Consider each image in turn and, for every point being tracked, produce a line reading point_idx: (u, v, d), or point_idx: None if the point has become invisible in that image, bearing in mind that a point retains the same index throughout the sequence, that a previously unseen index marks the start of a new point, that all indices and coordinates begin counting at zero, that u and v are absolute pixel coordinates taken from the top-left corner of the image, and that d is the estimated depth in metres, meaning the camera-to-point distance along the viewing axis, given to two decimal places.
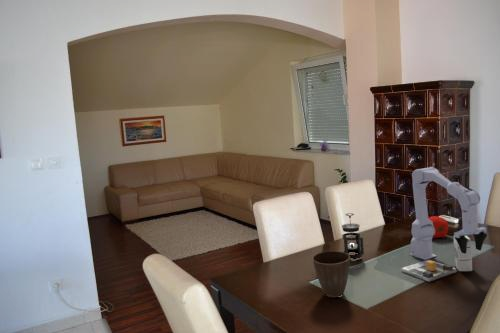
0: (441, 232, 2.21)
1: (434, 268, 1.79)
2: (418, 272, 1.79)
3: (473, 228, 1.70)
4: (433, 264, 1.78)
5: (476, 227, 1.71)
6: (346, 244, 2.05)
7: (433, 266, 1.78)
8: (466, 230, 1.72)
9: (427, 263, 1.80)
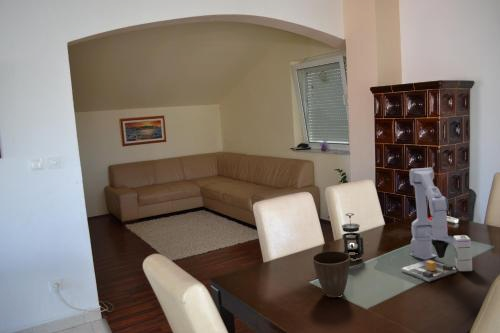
0: None
1: (434, 268, 1.79)
2: (418, 272, 1.79)
3: (433, 233, 1.73)
4: (433, 264, 1.78)
5: (436, 233, 1.71)
6: (346, 244, 2.05)
7: (433, 266, 1.78)
8: None
9: (427, 263, 1.80)
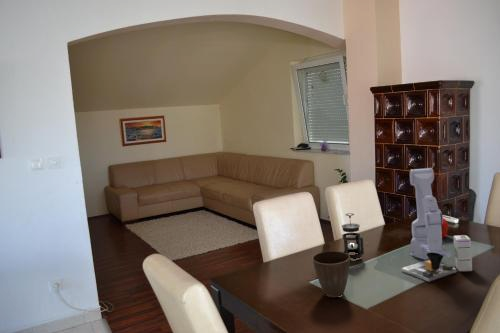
0: None
1: None
2: (418, 272, 1.79)
3: (428, 246, 1.76)
4: None
5: (431, 246, 1.75)
6: (346, 244, 2.05)
7: None
8: None
9: (426, 263, 1.80)
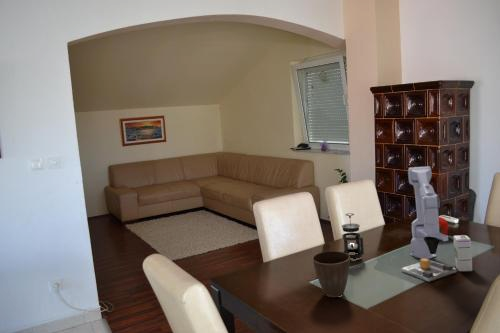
0: (441, 232, 2.21)
1: (428, 266, 1.82)
2: (418, 272, 1.79)
3: (425, 230, 1.76)
4: (427, 262, 1.81)
5: (428, 230, 1.75)
6: (346, 244, 2.05)
7: (427, 264, 1.82)
8: None
9: (421, 261, 1.83)
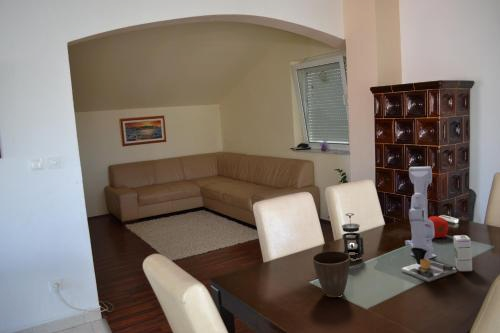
0: (441, 232, 2.21)
1: (428, 266, 1.82)
2: (418, 272, 1.79)
3: (412, 241, 1.84)
4: (427, 262, 1.81)
5: (415, 241, 1.83)
6: (346, 244, 2.05)
7: (427, 264, 1.81)
8: None
9: (421, 261, 1.83)
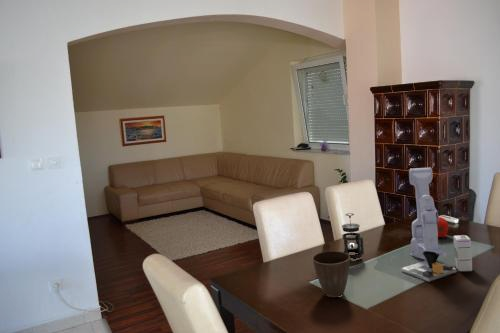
0: (441, 232, 2.21)
1: (441, 270, 1.76)
2: (418, 272, 1.79)
3: (424, 244, 1.78)
4: (440, 266, 1.75)
5: (427, 245, 1.77)
6: (346, 244, 2.05)
7: (440, 269, 1.75)
8: None
9: (433, 265, 1.77)
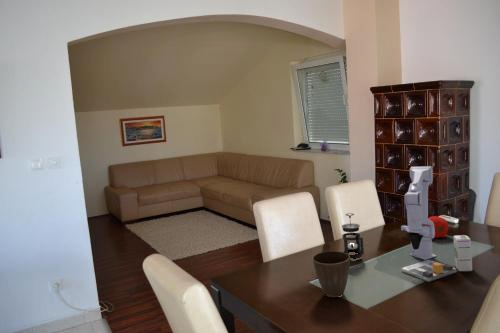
0: (441, 232, 2.21)
1: (441, 270, 1.76)
2: (418, 272, 1.79)
3: (408, 226, 1.81)
4: (440, 266, 1.75)
5: (411, 226, 1.80)
6: (346, 244, 2.05)
7: (440, 269, 1.75)
8: None
9: (433, 265, 1.77)
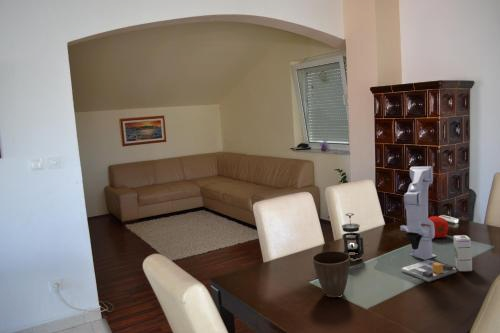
0: (441, 232, 2.21)
1: (441, 270, 1.76)
2: (418, 272, 1.79)
3: (407, 226, 1.81)
4: (440, 266, 1.75)
5: (410, 226, 1.80)
6: (346, 244, 2.05)
7: (440, 269, 1.75)
8: None
9: (433, 265, 1.77)
